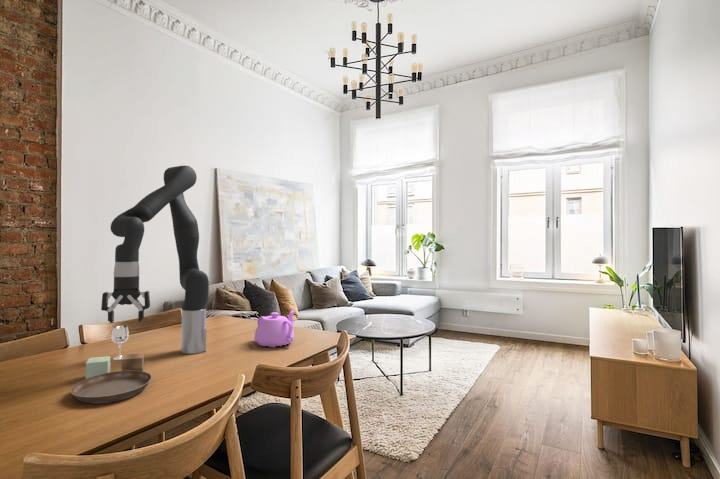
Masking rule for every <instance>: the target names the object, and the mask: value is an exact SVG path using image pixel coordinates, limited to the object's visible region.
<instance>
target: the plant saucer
mask: <svg viewBox="0 0 720 479" xmlns="http://www.w3.org/2000/svg"><path fill="white" fill-rule="evenodd" d="M152 378H153V376H152V374H150V373H149V372H147V371H144V370H143V371H122V370H119V371H112V372H111V371H110V373H105V374H101V375H97V376H93V377H90V378H87V379H86V378H84V379H82V380H81V381H80V380H79V381H78V382H76V383H75V384H74V385H72V387H71V388H70V394H72V396H73V397H74V398H75V399H77V400H78V401H79V402H83V403H86V404H108V403H114V402H119V401H124V400H127V399H129V398H132V397H135V396H136V395H138V394H139V393H141V392H142V391H143V390H145V389H146V388H147V386H148V385H149V384H150V382H151V380H152Z"/></svg>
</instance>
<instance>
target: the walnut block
mask: <svg viewBox="0 0 720 479" xmlns="http://www.w3.org/2000/svg"><path fill="white" fill-rule="evenodd" d="M144 354H145V353H144V352H141V353H139V352H138V353H129V354H123V355H122V356H123V358H122V359H121V371H143V372H144V370H145V369H144V364H145V362H144V361H145V360H144V359H145V356H144Z"/></svg>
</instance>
